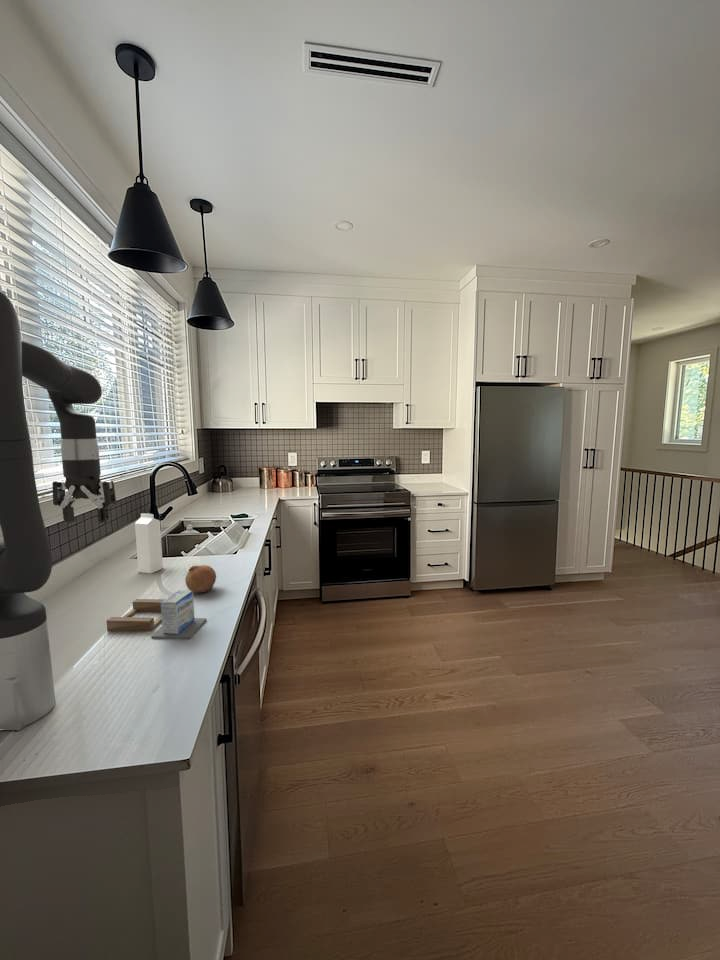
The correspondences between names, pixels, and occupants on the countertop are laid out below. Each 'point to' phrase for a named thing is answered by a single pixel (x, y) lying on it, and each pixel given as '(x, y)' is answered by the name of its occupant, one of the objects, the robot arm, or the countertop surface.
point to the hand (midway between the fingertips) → (86, 522)
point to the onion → (200, 578)
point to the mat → (184, 634)
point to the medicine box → (177, 612)
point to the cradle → (137, 623)
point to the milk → (148, 544)
